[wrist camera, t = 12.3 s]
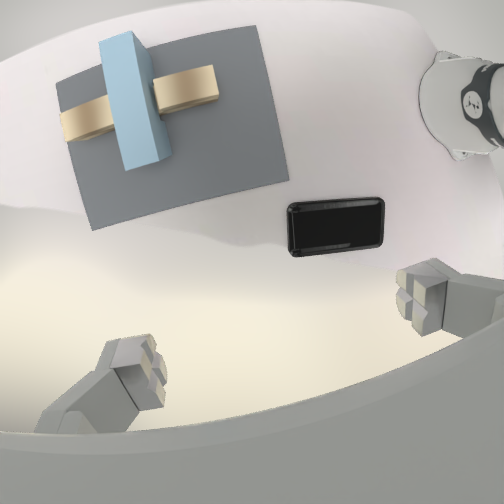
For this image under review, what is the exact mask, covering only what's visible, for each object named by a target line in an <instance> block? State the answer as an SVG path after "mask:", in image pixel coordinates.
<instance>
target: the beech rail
mask: <svg viewBox="0 0 504 504" xmlns="http://www.w3.org/2000/svg"><path fill="white" fill-rule="evenodd" d="M153 82H154V86H153V89H154V93H155V98H156V102H157V107H158V111H159V116H161V115H165V114H169V113H172V112H176V111H180V110H184V109H187V108H191V107H195V106H200V105H204V104H208V103H212V102H217V101H218V97H219V91H218V87H217V82H216V78H215V73H214V69H213V65H208V66H204V67H199V68H195V69H191V70H187V71H183V72H179V73H175V74H171V75H167V76H164V77H160V78H157V79H153ZM60 119H61V123H62V128H63V133H64V137H65V142H71V141H83V140H89V139H91V138H94V137H97V136H100V135H102V134H105V133H108V132H111V131H114V130H115V126H114V122H113V117H112V113H111V108H110V103H109V98H108V95H105V96H102V97H100V98H97V99H94V100H92V101H89V102H87V103H84V104H82V105H79V106H77V107H74V108H72V109H70V110H67V111H65V112H63V113H60Z"/></svg>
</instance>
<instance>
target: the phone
mask: <svg viewBox="0 0 504 504" xmlns="http://www.w3.org/2000/svg"><path fill="white" fill-rule="evenodd" d="M384 218H385V202H384V200H383V199H381V198H379V197H366V198H351V199H336V200H322V201H309V202H297V203H292V204H290V205H289V206H288V208H287V229H288V251H289V253H290V254H291V255H292V256H293V257H304V256H312V255H322V254H330V253H338V252H346V251H355V250H363V249H371V248H378V247H380V246H381V245H382V243H383V237H384Z"/></svg>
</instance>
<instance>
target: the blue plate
mask: <svg viewBox="0 0 504 504" xmlns="http://www.w3.org/2000/svg"><path fill="white" fill-rule="evenodd" d="M99 48H100V55H101V61H102V67H103V72H104V78H105V83H106V88H107V93H108V98H109V103H110V108H111V113H112V117H113V122H114V126H115V131H116V135H117V139H118V144H119V148H120V152H121V156H122V160H123V164H124V167H125V171H127V170H130V169H133V168H137V167H140V166H143V165H147V164H150V163H154V162H157V161H160V160H162V159H164V158H166V157H169V156H171V155H172V151H171V147H170V143H169V138H168V134H167V130H166V125H165V122H164V121H161V120H160V116H159V111H158V107H157V102H156V98H155V93H154V89H153V86H154V82H153V79H155V75H154V70H153V65H152V60H151V55H150V54H149V53H148V51H147V50H146V49H145V47H144V46H143V45H142V44H141V42H140V41H139V40H138V38H137V37H136V36H135V34H134V33H133V32H132V30H131V31H128V32H125V33H122V34H119V35H117V36H114V37H111V38H108V39H105V40H103V41H100V42H99Z"/></svg>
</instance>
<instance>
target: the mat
mask: <svg viewBox="0 0 504 504" xmlns="http://www.w3.org/2000/svg"><path fill="white" fill-rule="evenodd" d="M146 50H147V51H148V53H149V54H150V55H151V60H152V65H153V70H154V75H155V79H157V78H160V77H164V76H167V75H171V74H175V73H179V72H183V71H187V70H191V69H195V68H199V67H204V66H208V65H213V69H214V73H215V78H216V82H217V87H218V91H219V97H218V101H217V102H212V103H208V104H204V105H200V106H195V107H191V108H187V109H184V110H180V111H176V112H172V113H169V114H165V115H161V116H160V120H161V121H164V122H165V125H166V130H167V134H168V138H169V143H170V147H171V151H172V155H171V156H169V157H166V158H164V159H162V160H160V161H157V162H154V163H150V164H147V165H143V166H140V167H137V168H133V169H130V170H127V171H125V167H124V164H123V160H122V156H121V152H120V148H119V144H118V139H117V135H116V131H115V130H114V131H111V132H108V133H105V134H102V135H100V136H97V137H94V138H91V139H89V140H83V141H71V142H67V144H68V148H69V152H70V156H71V160H72V164H73V168H74V172H75V176H76V179H77V183H78V187H79V190H80V194H81V197H82V200H83V204H84V207H85V210H86V213H87V216H88V219H89V223H90V226H91V229H92V231H94V230H97V229H100V228H104V227H107V226H111V225H114V224H117V223H121V222H124V221H128V220H131V219H135V218H138V217H142V216H146V215H149V214H153V213H156V212H160V211H164V210H168V209H171V208H175V207H179V206H183V205H187V204H191V203H194V202H198V201H202V200H206V199H210V198H215V197H219V196H223V195H227V194H231V193H235V192H240V191H244V190H248V189H253V188H257V187H262V186H266V185H271V184H275V183H280V182H285V181H290V180H289V175H288V170H287V165H286V159H285V154H284V149H283V144H282V139H281V134H280V129H279V124H278V120H277V115H276V110H275V106H274V101H273V96H272V92H271V87H270V83H269V78H268V74H267V70H266V65H265V61H264V57H263V53H262V48H261V44H260V40H259V36H258V32H257V28H256V25H254V26H246V27H240V28H234V29H228V30H222V31H217V32H211V33H206V34H202V35H197V36H193V37H188V38H184V39H180V40H176V41H172V42H168V43H165V44H161V45H157V46H154V47H150V48H147V49H146ZM56 89H57V95H58V100H59V106H60V111H61V113H63V112H65V111H67V110H70V109H72V108H74V107H77V106H79V105H82V104H84V103H87V102H89V101H92V100H94V99H97V98H100V97H102V96H105V95H108V93H107V88H106V83H105V78H104V72H103V67H102V64H100V65H98V66H95V67H92V68H90V69H87V70H85V71H83V72H80V73H78V74H76V75H73V76H71V77H69V78H66V79H64V80H62V81H60V82H58V83H56Z"/></svg>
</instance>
